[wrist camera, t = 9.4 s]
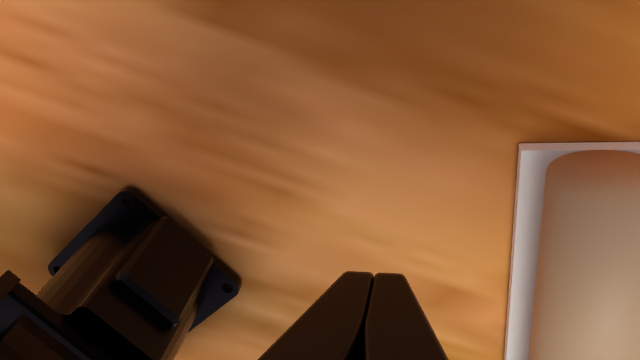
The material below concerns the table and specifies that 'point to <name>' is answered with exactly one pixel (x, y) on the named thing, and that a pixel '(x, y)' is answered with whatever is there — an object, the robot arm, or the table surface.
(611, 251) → the roller track
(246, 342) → the table surface
